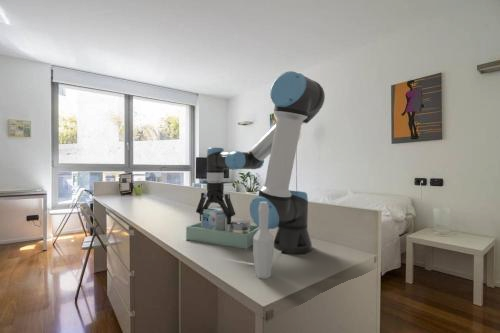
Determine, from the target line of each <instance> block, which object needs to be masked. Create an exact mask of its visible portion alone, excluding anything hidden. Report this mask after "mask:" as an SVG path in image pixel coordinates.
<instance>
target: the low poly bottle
mask: <svg viewBox="0 0 500 333" xmlns="http://www.w3.org/2000/svg"><path fill="white" fill-rule="evenodd" d="M258 214H259V230H258V231H257V233H256V234H255V235H254V238H253V245H252V253H253V265H254V271H255V272H254V273H255V277H256V278H258V279H269V278H271V276H272V266H273V259H274V239H275V236H273V234H272V233H271V231H270V229H268V216H269V206H268V202H260V204H259V208H258Z"/></svg>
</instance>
